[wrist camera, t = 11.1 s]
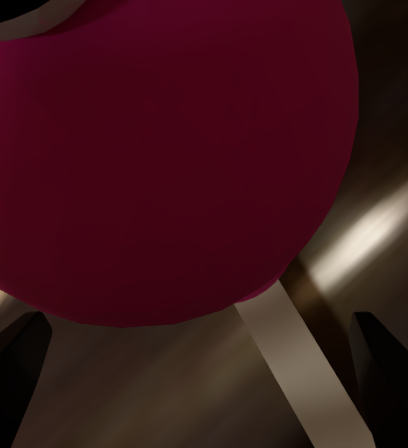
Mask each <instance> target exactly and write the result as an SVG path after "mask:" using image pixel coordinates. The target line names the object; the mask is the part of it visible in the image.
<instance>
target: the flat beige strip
mask: <svg viewBox="0 0 408 448" xmlns="http://www.w3.org/2000/svg"><path fill="white" fill-rule="evenodd" d="M234 305H235V307H236V309H237V310H238V312H239V314H240V316H241V317H242V319H243V321H244V323H245V325H246V326H247V328H248V330H249V332H250V333H251V335H252V337H253V339H254V341H255V342H256V344H257V346H258V348H259V349H260V351H261V353H262V355H263V357H264V358H265V360H266V362H267V364H268V365H269V367H270V369H271V371H272V373H273V374H274V376H275V378H276V380H277V381H278V383H279V385H280V387H281V389H282V390H283V392H284V394H285V396H286V397H287V399H288V401H289V403H290V405H291V406H292V408H293V410H294V412H295V413H296V415H297V417H298V419H299V421H300V422H301V424H302V426H303V428H304V429H305V431H306V433H307V435H308V437H309V438H310V440H311V442H312V444H313V445H314V447H315V448H376V446H375V443H374V440H373V437H372V434H371V432H370V430H369V429H368V427H367V425H366V424H365V422H364V421H363V419H362V417H361V416H360V414H359V412H358V411H357V409H356V407H355V406H354V404H353V402H352V401H351V399H350V397H349V396H348V394H347V392H346V391H345V389H344V387H343V386H342V384H341V382H340V381H339V379H338V377H337V376H336V374H335V373H334V371H333V369H332V368H331V366H330V364H329V363H328V361H327V359H326V358H325V356H324V354H323V353H322V351H321V349H320V348H319V346H318V344H317V343H316V341H315V339H314V338H313V336H312V334H311V333H310V331H309V329H308V328H307V326H306V324H305V323H304V321H303V320H302V318H301V316H300V315H299V313H298V311H297V310H296V308H295V306H294V305H293V303H292V301H291V300H290V298H289V296H288V295H287V293H286V291H285V290H284V288H283V286H282V285H281V283H280V281H279V280H277V281H276V283H275V284H273V285H272V286H271V287H270V288H269V289H268V290H266V291H265V292H263V293H261V294H260V295H258V296H256V297H255V298H252V299H249V300H247V301H244V302H240V303H235V304H234Z"/></svg>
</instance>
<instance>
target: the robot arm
mask: <svg viewBox="0 0 408 448" xmlns="http://www.w3.org/2000/svg"><path fill="white" fill-rule="evenodd" d="M51 337H52V328H51V326H50V324H49V322H48V321H47V319H46V317H45V316H44V314H43V313H42V312H40V311H29V312H26V313H24V314H23V315H22V316H20V317H19V318H18V319H17V320H15V321H14V322H13V323H11V324H10V325H9V326H7V327H6V328H5V329H4V330H2V331H1V332H0V448H11V446H12V443H13V441H14V439H15V436H16V434H17V431H18V429H19V426H20V424H21V422H22V419H23V417H24V414H25V412H26V410H27V407H28V405H29V402H30V400H31V397H32V395H33V393H34V390H35V387H36V385H37V382H38V379H39V376H40V373H41V369H42V366H43V363H44V360H45V356H46V353H47V350H48V346H49V343H50V340H51ZM349 341H350V346H351V351H352V357H353V362H354V367H355V372H356V378H357V383H358V388H359V393H360V397H361V401H362V404H363V408H364V411H365V414H366V417H367V421H368V424H369V427H370V430H371V433H372V437H373V440H374V443H375V446H376V448H408V350H407V349H406V348H405V347H404V346H403V345H402V344H401V343H400V342H399V341H398V340H397V339H396V338H395V337H394V336H393V335H392V334H391V333H390V332H389V331H388V330H387V329H386V328H385V326H384V325H383V324H382V323H381V322H380V321H379V320H378V319H377V318H376V317H375V316H374V315H373V314H372V313H370V312H368V311H355V312H353V314H352V318H351V322H350V327H349Z"/></svg>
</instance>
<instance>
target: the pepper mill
mask: <svg viewBox="0 0 408 448" xmlns="http://www.w3.org/2000/svg"><path fill="white" fill-rule="evenodd" d="M358 118H359V76H358V70H357V63H356V57H355V51H354V45H353V39H352V33H351V27H350V23H349V20H348V18H347V15H346V13H345V10H344V8H343V5H342V3H341V0H0V290H2V291H4V292H5V293H7V294H9V295H11V296H13V297H15V298H17V299H19V300H21V301H23V302H25V303H27V304H28V305H30V306H32V307H34V308H36V309H38V310H40V311H42V312H45V313H48V314H52V315H55V316H58V317H61V318H64V319H67V320H71V321H74V322H77V323H80V324H90V325H100V326H111V327H121V328H124V327H140V326H156V325H172V324H177V323H180V322H183V321H187V320H190V319H194V318H197V317H200V316H204V315H207V314H210V313H214V312H217V311H221V310H223V309H225V308H227V307H228V306H230V305H232V304H235V303H240V302H244V301H247V300H249V299H252V298H255V297H256V296H258V295H260V294H261V293H263V292H265V291H266V290H268V289H269V288H270V287H271V286H272V285H273V284H275V283H276V281H277V280H278V279H279V278H280V276H281V275H282V274H283V273H284V272H285V270H286V268H287V266H288V265H289V264H290V262H291V261H292V260H293V259H294V258H295V257H296V255H297V254H298V253H299V252H300V251H301V250H302V249H303V247H304V246H305V245H306V244H307V243H308V242H309V240H310V239H311V238H312V236H313V235H314V233H315V232H316V231H317V229H318V228H319V226H320V225H321V223H322V222H323V220H324V219H325V217H326V215H327V214H328V212H329V210H330V209H331V207H332V204H333V202H334V199H335V197H336V194H337V192H338V189H339V187H340V184H341V181H342V179H343V176H344V174H345V171H346V169H347V166H348V163H349V161H350V156H351V151H352V147H353V142H354V137H355V132H356V128H357V123H358Z"/></svg>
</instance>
